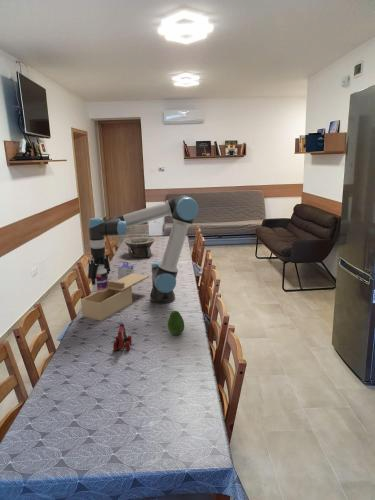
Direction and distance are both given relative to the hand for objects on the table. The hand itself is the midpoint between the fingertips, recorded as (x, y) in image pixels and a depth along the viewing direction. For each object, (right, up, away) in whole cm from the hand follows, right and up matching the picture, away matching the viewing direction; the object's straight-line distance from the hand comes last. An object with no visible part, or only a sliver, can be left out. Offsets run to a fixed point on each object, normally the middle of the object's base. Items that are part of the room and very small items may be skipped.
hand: (100, 287), depth 200 cm
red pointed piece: (+18, -24, -34) cm, 45 cm away
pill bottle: (0, -2, +1) cm, 2 cm away
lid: (+11, +1, +22) cm, 24 cm away
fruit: (+42, -21, -23) cm, 52 cm away
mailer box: (+3, -13, +8) cm, 16 cm away
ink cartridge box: (+5, -2, +52) cm, 53 cm away
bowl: (+6, +15, +122) cm, 123 cm away
